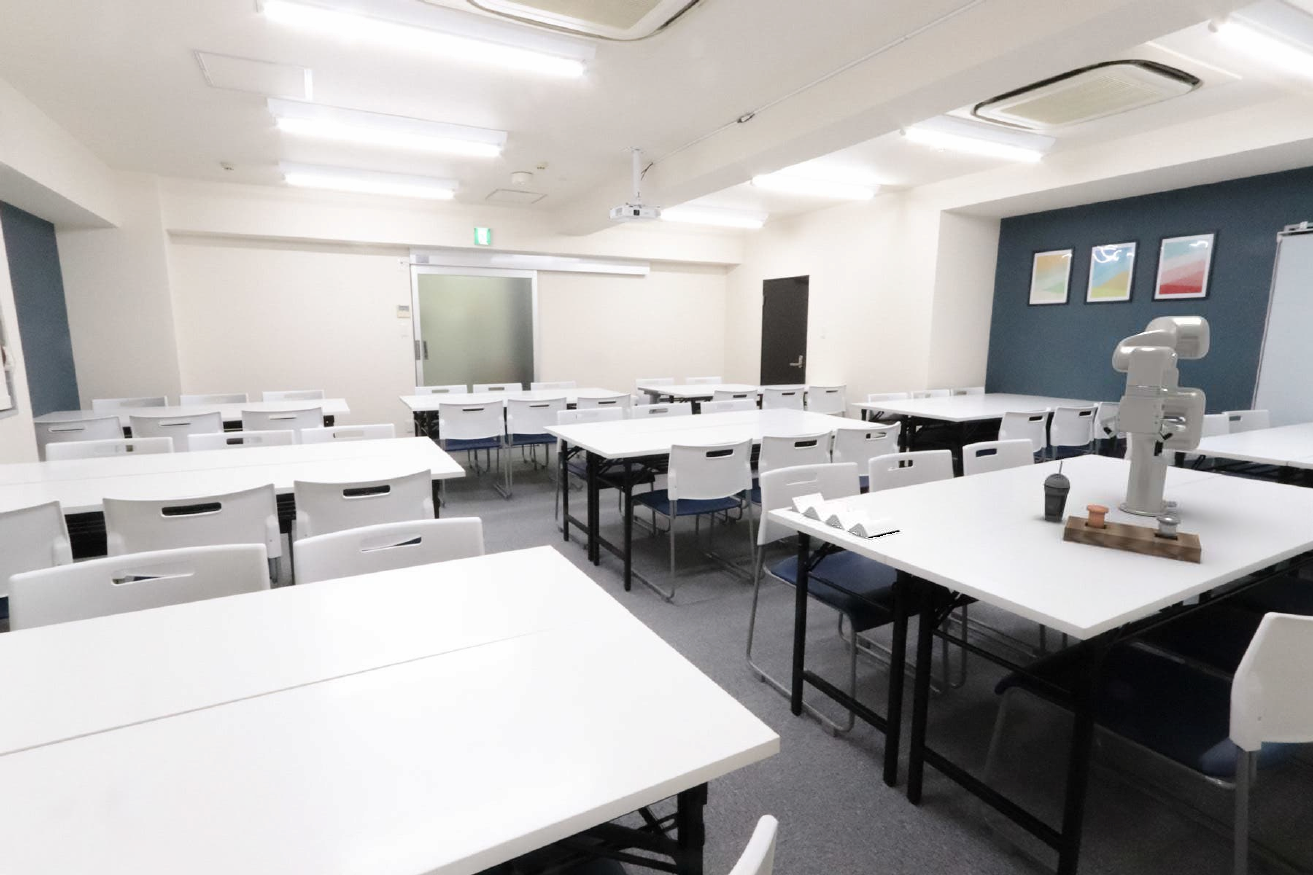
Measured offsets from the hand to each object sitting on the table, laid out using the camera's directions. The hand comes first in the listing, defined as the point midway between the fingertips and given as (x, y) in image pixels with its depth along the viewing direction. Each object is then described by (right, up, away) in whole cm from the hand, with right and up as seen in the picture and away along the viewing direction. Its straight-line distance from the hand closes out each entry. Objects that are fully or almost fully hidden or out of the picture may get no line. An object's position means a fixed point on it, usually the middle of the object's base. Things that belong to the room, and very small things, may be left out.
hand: (1134, 453), depth 169 cm
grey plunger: (+8, -24, -1) cm, 25 cm away
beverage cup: (-5, -23, +26) cm, 35 cm away
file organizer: (-73, -24, +28) cm, 82 cm away
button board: (+2, -26, +4) cm, 27 cm away
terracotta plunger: (-5, -23, +9) cm, 25 cm away
